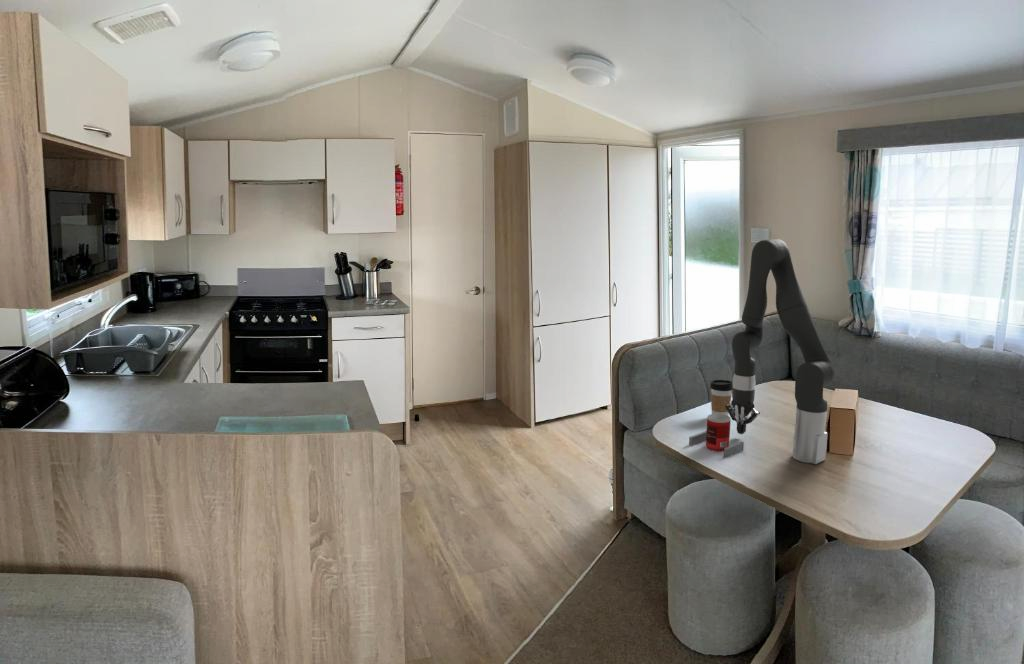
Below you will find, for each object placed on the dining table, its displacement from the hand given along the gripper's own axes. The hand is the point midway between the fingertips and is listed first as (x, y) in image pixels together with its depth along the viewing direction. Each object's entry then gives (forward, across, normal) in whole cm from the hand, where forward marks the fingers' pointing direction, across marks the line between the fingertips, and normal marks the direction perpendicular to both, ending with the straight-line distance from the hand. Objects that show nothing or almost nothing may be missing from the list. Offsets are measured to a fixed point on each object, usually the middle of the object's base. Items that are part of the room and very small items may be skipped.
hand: (740, 433), depth 251 cm
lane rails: (+2, 0, +15) cm, 15 cm away
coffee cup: (+2, +17, -12) cm, 21 cm away
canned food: (+2, 0, +14) cm, 14 cm away
